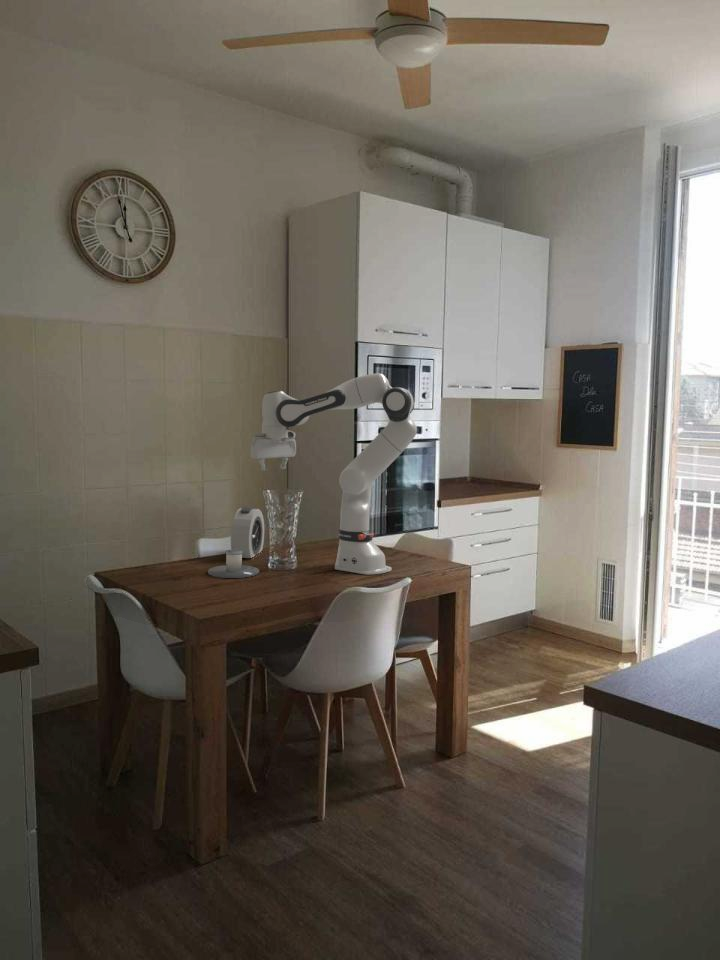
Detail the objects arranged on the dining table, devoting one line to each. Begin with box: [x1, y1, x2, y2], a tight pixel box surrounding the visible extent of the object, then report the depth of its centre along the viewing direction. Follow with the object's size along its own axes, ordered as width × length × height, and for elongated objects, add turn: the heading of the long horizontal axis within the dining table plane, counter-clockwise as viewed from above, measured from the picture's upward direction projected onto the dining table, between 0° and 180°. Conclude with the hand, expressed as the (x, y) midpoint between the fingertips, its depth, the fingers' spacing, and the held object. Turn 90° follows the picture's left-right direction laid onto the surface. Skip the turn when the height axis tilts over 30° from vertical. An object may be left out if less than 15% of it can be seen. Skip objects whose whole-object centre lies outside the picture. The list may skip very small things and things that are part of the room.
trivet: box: [207, 564, 260, 579], centre depth 275 cm, size 18×18×1 cm
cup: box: [225, 549, 243, 572], centre depth 275 cm, size 6×6×7 cm
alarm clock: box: [230, 505, 265, 558], centre depth 306 cm, size 21×8×20 cm, turn 171°
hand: (273, 469), depth 295 cm, fingers open, 8 cm apart
